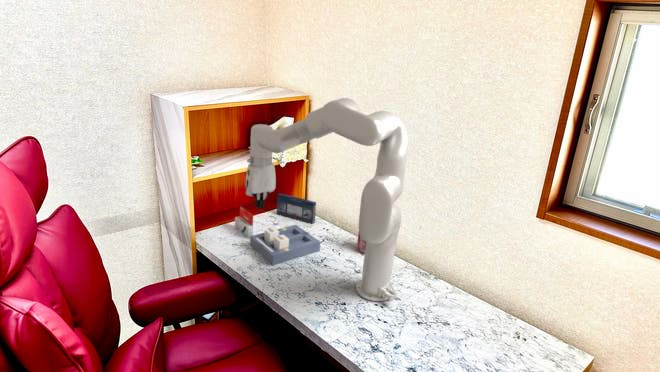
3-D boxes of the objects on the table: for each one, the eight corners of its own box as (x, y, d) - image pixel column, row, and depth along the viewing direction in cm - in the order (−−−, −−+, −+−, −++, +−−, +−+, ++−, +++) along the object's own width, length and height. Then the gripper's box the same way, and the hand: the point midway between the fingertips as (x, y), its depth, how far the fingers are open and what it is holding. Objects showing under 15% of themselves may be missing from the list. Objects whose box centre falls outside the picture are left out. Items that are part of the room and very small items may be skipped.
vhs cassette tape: (276, 214, 195) (277, 194, 192) (279, 212, 198) (280, 192, 194) (311, 225, 188) (313, 204, 184) (315, 222, 190) (316, 202, 187)
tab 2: (288, 250, 161) (289, 237, 159) (279, 253, 159) (279, 240, 157) (282, 246, 164) (283, 233, 162) (273, 248, 161) (274, 235, 159)
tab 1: (278, 242, 166) (279, 229, 164) (269, 245, 164) (270, 232, 162) (273, 238, 169) (273, 225, 167) (264, 241, 166) (264, 228, 165)
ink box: (248, 238, 172) (248, 216, 168) (234, 228, 180) (234, 206, 176) (253, 237, 173) (253, 215, 170) (239, 226, 181) (240, 205, 178)
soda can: (375, 255, 167) (378, 228, 162) (357, 254, 167) (360, 226, 162) (373, 247, 173) (377, 220, 169) (356, 245, 173) (359, 218, 169)
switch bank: (319, 250, 167) (320, 241, 166) (272, 265, 154) (273, 255, 153) (295, 233, 179) (295, 224, 178) (250, 245, 167) (250, 236, 165)
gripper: (246, 166, 143) (245, 216, 149) (285, 161, 152) (282, 208, 158) (236, 159, 148) (236, 208, 155) (274, 155, 157) (272, 201, 164)
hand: (259, 208), depth 157 cm, fingers closed
